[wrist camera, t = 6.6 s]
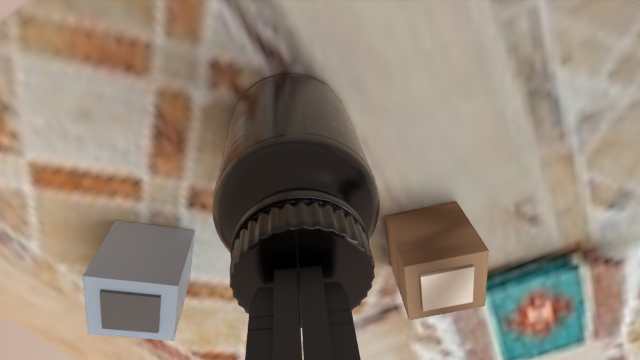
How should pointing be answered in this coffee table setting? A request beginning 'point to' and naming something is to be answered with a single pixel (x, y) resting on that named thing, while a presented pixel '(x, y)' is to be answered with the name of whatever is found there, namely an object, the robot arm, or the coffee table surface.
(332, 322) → the robot arm
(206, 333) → the coffee table surface
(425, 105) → the coffee table surface
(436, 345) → the coffee table surface
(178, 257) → the slate-blue block
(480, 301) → the walnut block
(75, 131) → the coffee table surface
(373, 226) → the supplement bottle
